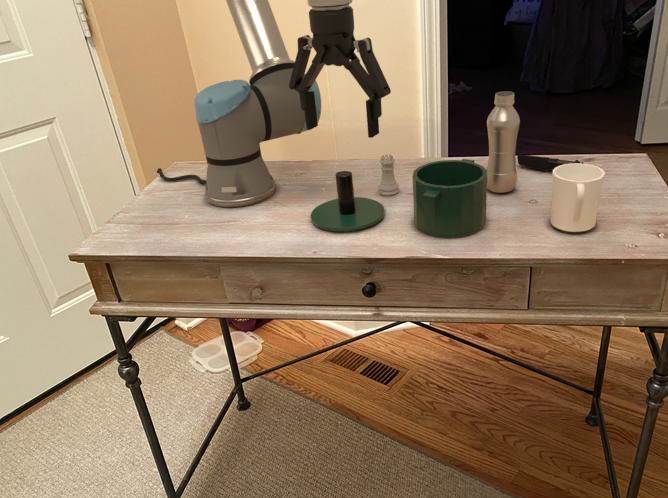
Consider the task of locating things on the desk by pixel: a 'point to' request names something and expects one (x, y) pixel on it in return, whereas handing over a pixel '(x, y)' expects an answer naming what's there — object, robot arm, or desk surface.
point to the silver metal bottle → (502, 144)
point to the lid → (347, 208)
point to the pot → (450, 198)
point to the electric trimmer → (542, 162)
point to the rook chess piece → (388, 177)
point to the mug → (575, 197)
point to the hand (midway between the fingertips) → (342, 131)
